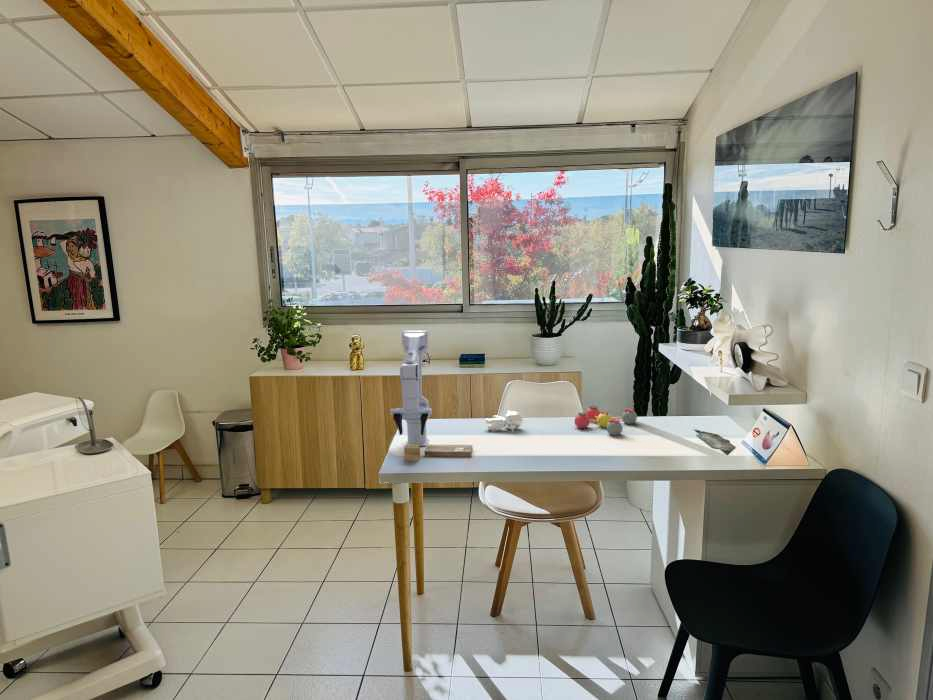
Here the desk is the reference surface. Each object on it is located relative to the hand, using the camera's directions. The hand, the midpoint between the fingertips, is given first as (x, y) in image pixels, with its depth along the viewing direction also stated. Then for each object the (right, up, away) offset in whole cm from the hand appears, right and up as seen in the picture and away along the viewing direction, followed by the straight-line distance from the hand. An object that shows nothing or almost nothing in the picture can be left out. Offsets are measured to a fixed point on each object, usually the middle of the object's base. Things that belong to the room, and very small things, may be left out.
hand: (411, 434), depth 233 cm
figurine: (+35, -3, +37) cm, 51 cm away
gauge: (0, -9, +3) cm, 10 cm away
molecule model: (+77, -2, +39) cm, 87 cm away
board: (+13, -8, +8) cm, 17 cm away
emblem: (+115, -5, +17) cm, 117 cm away
